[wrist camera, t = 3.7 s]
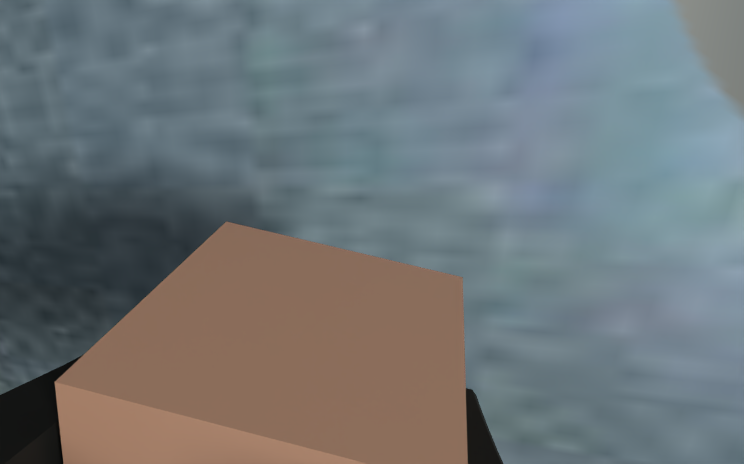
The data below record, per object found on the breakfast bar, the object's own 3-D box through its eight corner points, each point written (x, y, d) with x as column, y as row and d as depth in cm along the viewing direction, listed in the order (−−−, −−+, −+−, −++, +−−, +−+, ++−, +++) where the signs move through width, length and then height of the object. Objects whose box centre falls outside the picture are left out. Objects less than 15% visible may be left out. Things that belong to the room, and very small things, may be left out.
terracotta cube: (410, 451, 12) (384, 707, 8) (214, 401, 13) (80, 619, 8) (462, 277, 10) (468, 490, 6) (226, 221, 11) (54, 381, 6)
